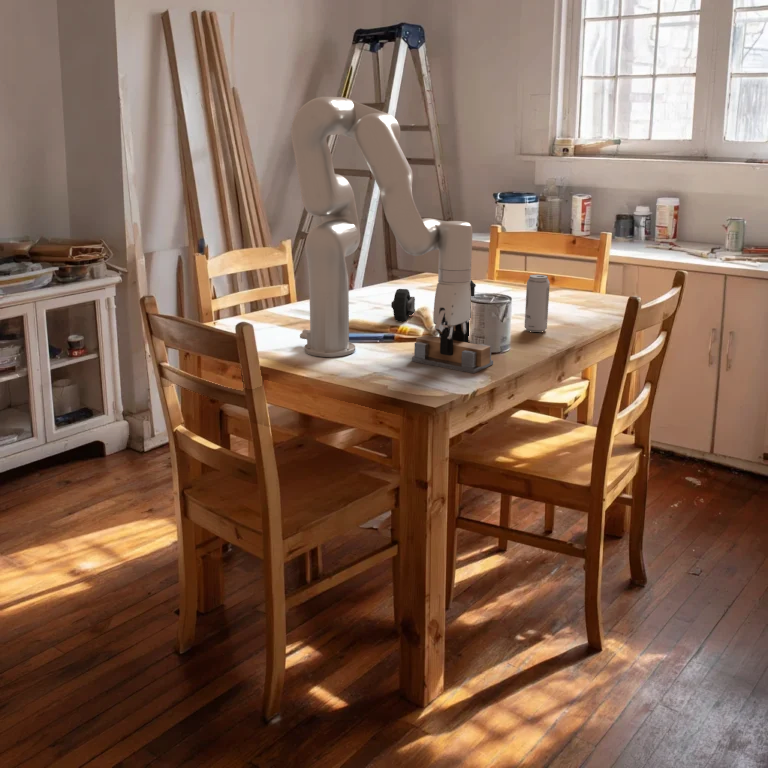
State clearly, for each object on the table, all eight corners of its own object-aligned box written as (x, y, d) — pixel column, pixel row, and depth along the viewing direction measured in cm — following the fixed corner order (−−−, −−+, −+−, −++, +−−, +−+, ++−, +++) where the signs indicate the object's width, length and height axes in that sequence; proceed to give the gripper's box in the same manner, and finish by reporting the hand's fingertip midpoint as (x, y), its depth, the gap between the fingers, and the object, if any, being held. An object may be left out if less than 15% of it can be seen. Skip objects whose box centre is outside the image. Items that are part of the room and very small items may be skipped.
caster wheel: (408, 328, 250) (418, 311, 263) (408, 294, 246) (418, 279, 260) (388, 327, 251) (399, 310, 265) (388, 293, 247) (399, 278, 261)
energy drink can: (523, 327, 247) (526, 273, 242) (545, 328, 246) (549, 274, 242) (524, 333, 241) (527, 278, 236) (547, 333, 240) (551, 278, 236)
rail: (416, 354, 217) (416, 338, 215) (425, 350, 220) (425, 335, 219) (480, 367, 207) (481, 350, 205) (489, 363, 210) (490, 346, 208)
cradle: (412, 361, 215) (412, 342, 213) (432, 352, 222) (432, 335, 220) (473, 373, 205) (474, 354, 204) (493, 364, 212) (493, 346, 211)
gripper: (459, 268, 216) (457, 342, 221) (420, 279, 203) (419, 357, 208) (486, 272, 212) (483, 347, 217) (449, 283, 199) (447, 362, 204)
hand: (452, 351), depth 213 cm, fingers open, 4 cm apart
